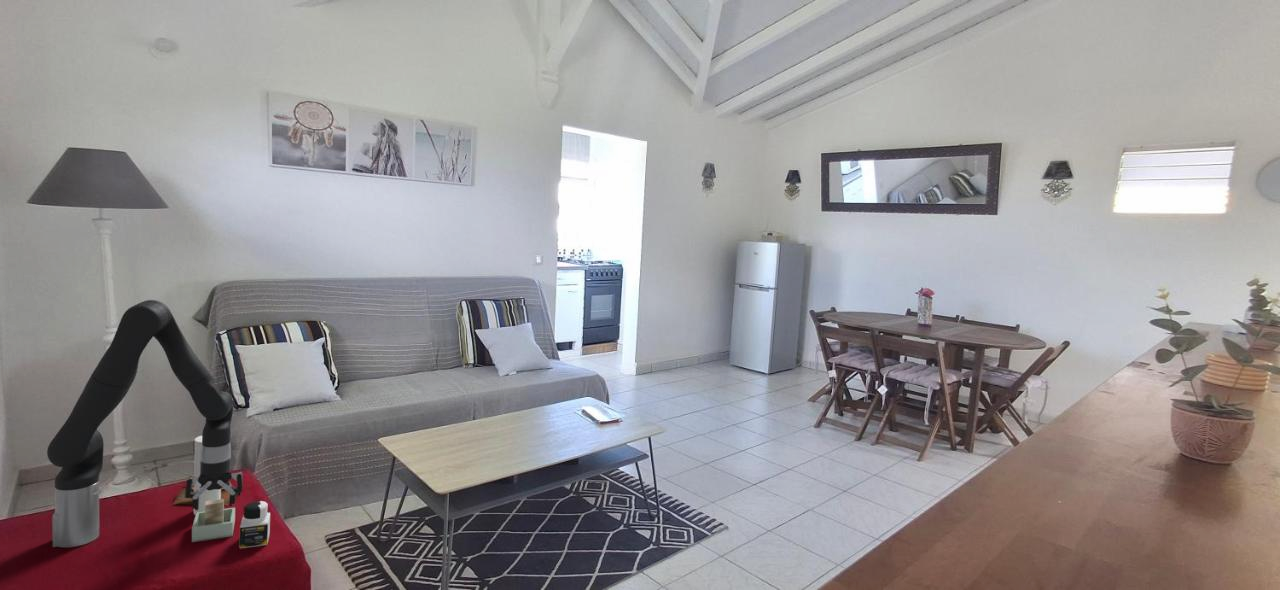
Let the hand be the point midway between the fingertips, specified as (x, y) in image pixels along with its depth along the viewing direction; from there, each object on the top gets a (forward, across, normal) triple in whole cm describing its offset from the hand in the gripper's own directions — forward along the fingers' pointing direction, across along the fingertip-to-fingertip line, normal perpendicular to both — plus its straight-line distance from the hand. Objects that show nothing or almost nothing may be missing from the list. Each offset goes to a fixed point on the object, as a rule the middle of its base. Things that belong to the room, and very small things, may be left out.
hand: (214, 507), depth 181 cm
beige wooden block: (+7, 0, 0) cm, 7 cm away
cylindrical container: (+8, -3, +14) cm, 17 cm away
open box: (+8, 0, 0) cm, 8 cm away
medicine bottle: (+8, +11, -10) cm, 17 cm away
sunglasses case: (+9, -4, +23) cm, 25 cm away
